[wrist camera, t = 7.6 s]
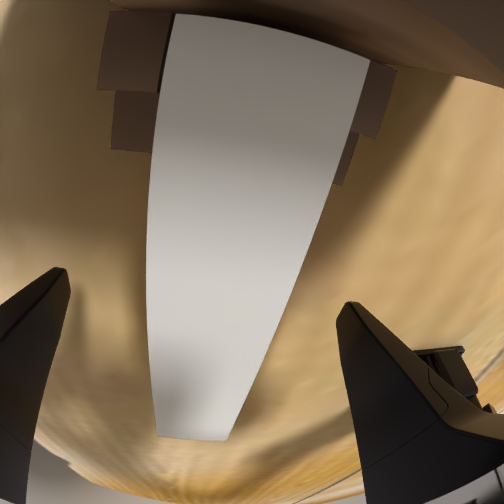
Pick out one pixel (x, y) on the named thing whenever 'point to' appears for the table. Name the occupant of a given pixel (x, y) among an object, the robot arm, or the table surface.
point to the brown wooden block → (314, 27)
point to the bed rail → (234, 205)
